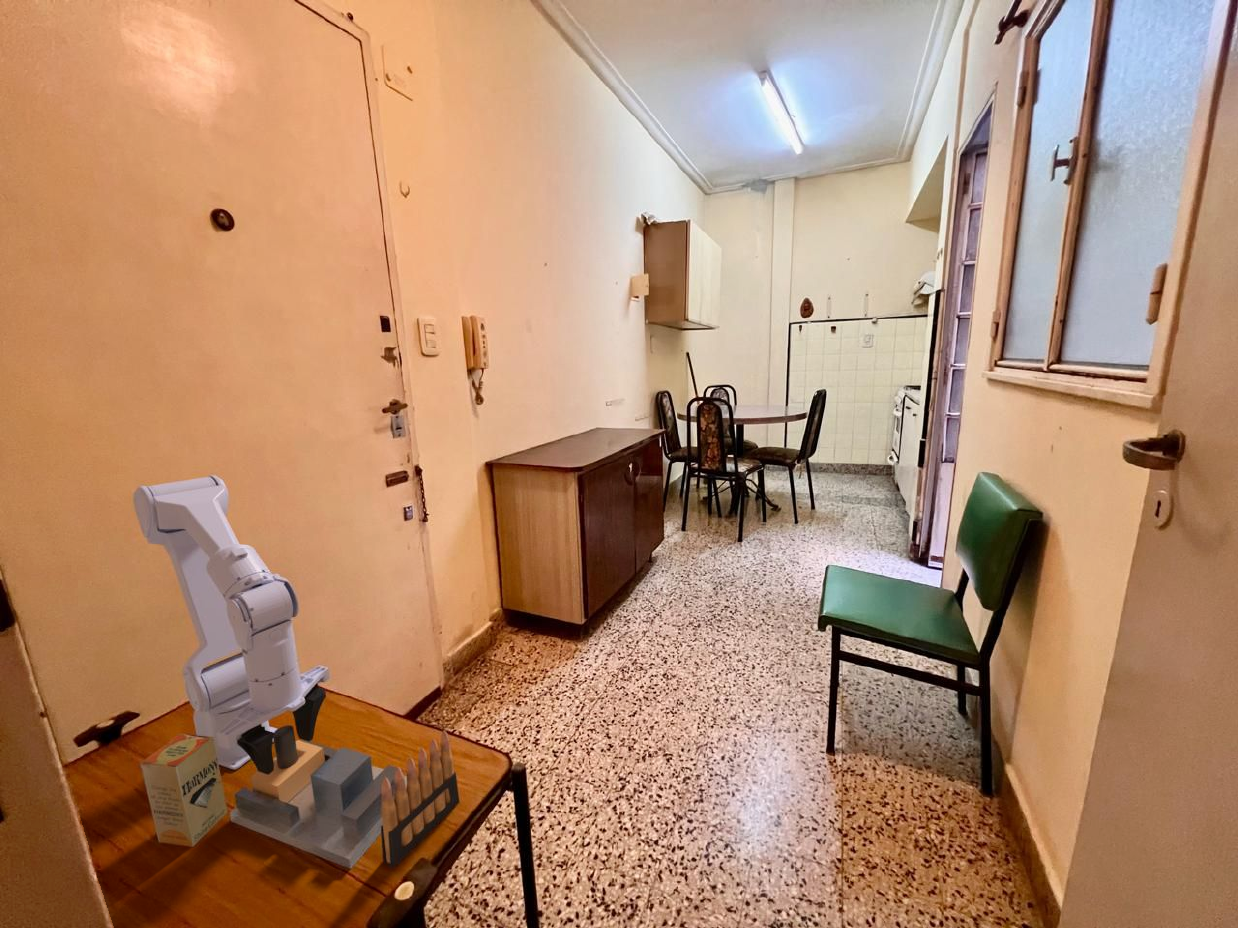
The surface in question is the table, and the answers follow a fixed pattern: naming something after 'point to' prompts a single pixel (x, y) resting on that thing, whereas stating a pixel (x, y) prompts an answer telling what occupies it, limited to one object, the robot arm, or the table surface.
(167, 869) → the table surface
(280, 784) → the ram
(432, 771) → the ammunition clip
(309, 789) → the frame
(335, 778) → the housing
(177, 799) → the shoe polish box
